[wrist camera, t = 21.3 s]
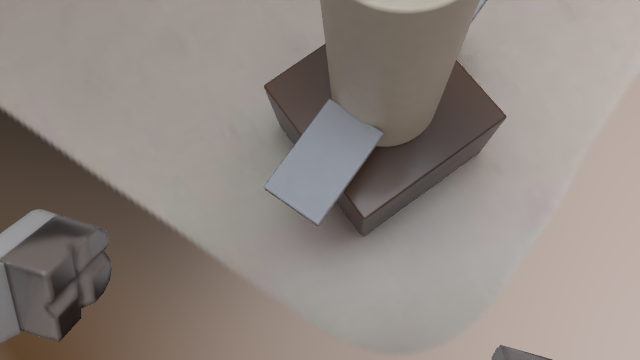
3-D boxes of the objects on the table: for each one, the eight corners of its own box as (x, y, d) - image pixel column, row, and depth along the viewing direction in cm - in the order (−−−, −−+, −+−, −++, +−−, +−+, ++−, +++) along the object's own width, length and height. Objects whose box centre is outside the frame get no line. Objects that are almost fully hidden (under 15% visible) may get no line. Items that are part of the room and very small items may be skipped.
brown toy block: (362, 237, 20) (364, 220, 16) (279, 125, 22) (262, 85, 18) (479, 152, 21) (508, 116, 17) (390, 48, 22) (398, -7, 18)
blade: (342, 248, 16) (329, 193, 8) (254, 187, 17) (168, 84, 9) (507, 13, 18) (621, -213, 10) (420, -34, 19) (465, -278, 11)
